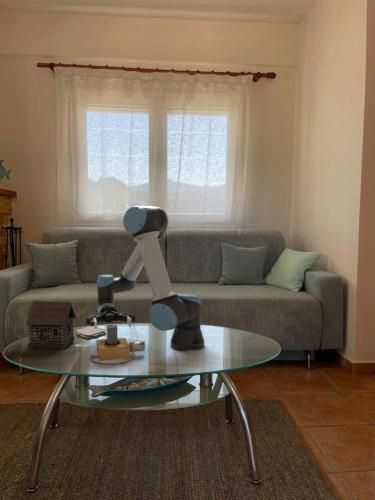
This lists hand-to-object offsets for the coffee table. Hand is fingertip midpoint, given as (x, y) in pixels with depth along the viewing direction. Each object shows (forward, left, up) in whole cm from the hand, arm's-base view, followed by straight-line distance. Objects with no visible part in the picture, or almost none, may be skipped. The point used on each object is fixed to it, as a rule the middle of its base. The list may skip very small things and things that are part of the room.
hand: (113, 324), depth 169 cm
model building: (+35, -12, -15) cm, 40 cm away
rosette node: (0, -4, -15) cm, 15 cm away
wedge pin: (+2, -3, -14) cm, 14 cm away
